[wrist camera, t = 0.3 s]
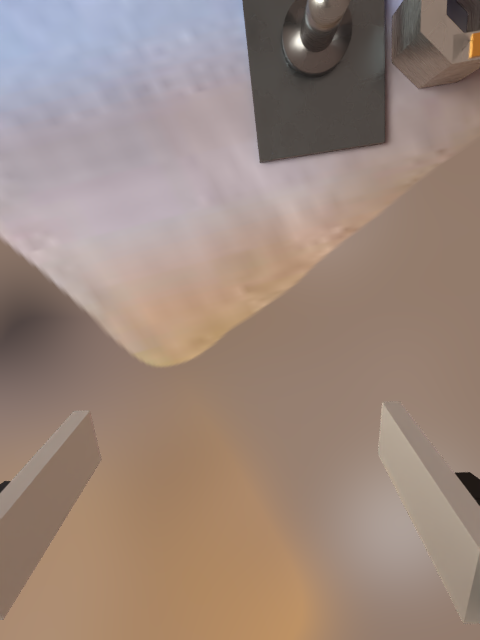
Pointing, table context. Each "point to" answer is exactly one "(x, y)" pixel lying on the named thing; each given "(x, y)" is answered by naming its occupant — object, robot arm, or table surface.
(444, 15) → the ring
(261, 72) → the plate with peg
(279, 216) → the table surface
